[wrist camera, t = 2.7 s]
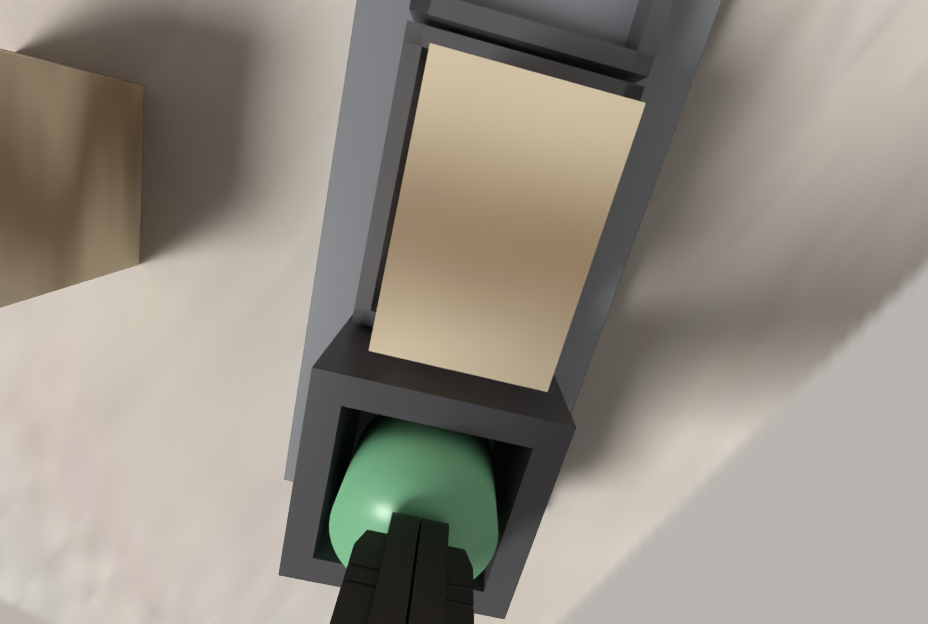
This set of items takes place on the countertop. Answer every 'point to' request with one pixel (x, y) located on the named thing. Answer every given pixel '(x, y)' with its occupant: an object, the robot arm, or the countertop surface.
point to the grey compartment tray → (369, 234)
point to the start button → (418, 486)
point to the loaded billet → (498, 217)
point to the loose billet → (66, 175)
